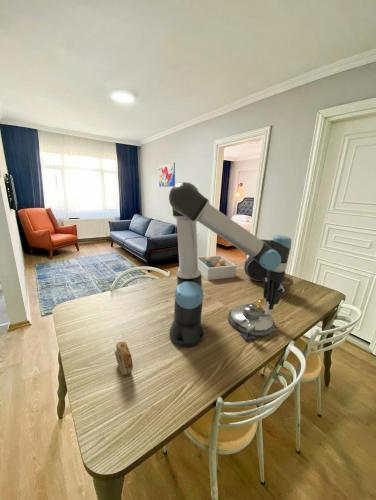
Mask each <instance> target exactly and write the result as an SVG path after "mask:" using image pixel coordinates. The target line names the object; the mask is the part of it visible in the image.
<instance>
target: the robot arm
mask: <svg viewBox="0 0 376 500" xmlns="http://www.w3.org/2000/svg"><path fill="white" fill-rule="evenodd" d="M168 194H169V195H168V200H169V204H170V206H171V208H172V210H171V211H172V217H173V218H174V219H175V220H176V230H177V232H176V234H177V247H178V262H179V263H178V264H179V270H178V271H177V272H176V281H177V282H176V283H177V286H176V287H175V290H174V308H173V309H174V312H173V313H174V314H173V321H172V323H171V325H170V328H169V334H168V335H169V339H170V341H171V342H172V343H173V344H174V345H176V346H178V347H179V348H180V347H181V348H194V347H197V346H199V345H200V344H202V343H203V340H204V337H205V336H204V335H205V331H204V328H203V324H202V312H203V311H202V310H203V300H204V290H203V288H202V287H203V282H202V274H201V271H200V270H199V269H198V258H197V257H198V238H197V236H198V233H197V232H198V231H197V222H198V223H200V224H201V225H203V226H204V227H206V228H207V229H209V230H210V231H211V232H213V233H215V234H216V235H218V237H220V238H222V239H223V240H224V241H226V242H227V243H229V244H231V245H232V246H234V247H235V248H236V249H238V250H239V251H241V252H243V253H244V254H245V255H246V256H248V257H249V256H250V257H251V258H253V259H254V260H255V261H257V262H258V263H260V265H261V266H262V267H264V268H265V269H267V270H268V271H267V278H263V281H262V283H263V288H262V289H263V294H262V295H263V298H264V299H265V305H264V306H265V309H264V310H265V314H266V315H269V314H270V315H272V312H273V309H274V306H275V305H278V304H279V303H280V301H281V299H282V298H283V297H282V295H283V293H284V292H285V291H286V288H283V286H282V280H283V279H284V276H286V270H287V265H288V260H289V256H290V252H291V249H292V238H291V237H289V236H285V235H279V234H278V235H274V236H273V238H272V239H260V238H258V237H257V236H256V235H254V234H253V233H251V232H250V231H248V230H247V229H246V228H245V227H243V226H241V225H240V224H238V223H237V222H236V221H234V220H233V219H231V218H230V217H229V216H227V215H226V214H224V213H223V212H221V211H220V210H219V209H217V208H215V207H214V206H213V205H212V204H210V200H209V199H208V198H207V197H205V195H202V193H201V192H200V191H199V189H198V188H197V187H196V186H195V185H194V184H192V183H191V182H185V181H182V182H178V183H176V184H174V185H173V186H172V188H171V189H170V192H169V193H168ZM277 291H278V292H277Z"/></svg>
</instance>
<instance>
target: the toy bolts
mask: <svg viewBox="0 0 376 500" xmlns="http://www.w3.org/2000/svg"><path fill="white" fill-rule="evenodd" d="M205 257H206V256H205ZM204 264H205V265H206V266H207V267H209V268H211V266H212V263H211V258H210V257H206V258H205V262H204ZM223 266H227V265H226V264H225V260H224V259H221V260H219V263H217V265H216V266H214V267H223Z"/></svg>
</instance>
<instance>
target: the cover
mask: <svg viewBox="0 0 376 500" xmlns="http://www.w3.org/2000/svg"><path fill="white" fill-rule="evenodd" d="M243 305H244V308H243V316H244V317H245V318H247V319H249V320H258V319H259V316H260V311H261V309H260V308H259V307H258V305H256V304H254V303H247V304H243Z"/></svg>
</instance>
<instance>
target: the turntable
mask: <svg viewBox="0 0 376 500" xmlns="http://www.w3.org/2000/svg"><path fill="white" fill-rule="evenodd" d="M244 305H245V304H238V305H236V306H234V307H232V308H231V310H230V311H231V318H232V320H233V321H234V322H235V323H236V324H237V325H238V326H240V327H242V328H244V329H246V327H247V325H248V324H250V323H252V324H254V325H255V330H254V331H255V332H263V331H267V330H269V329H270V328H271V327H272V325H273V321H274V318H273V316H272V314H269V315H266V314H265V309H263V308H264V300H261V299H259V300H257V306H258V307H259V308H260V309H261V311H260V316H259V319H258V320H249V319H247V318H245V317H244V316H243V308H244Z"/></svg>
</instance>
